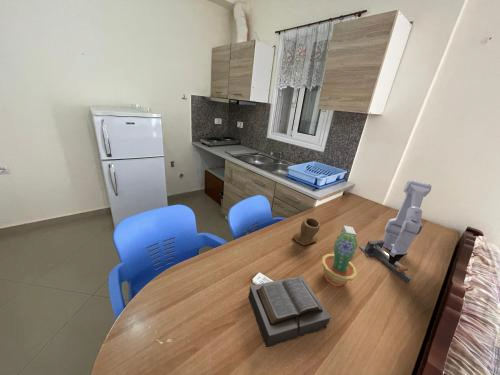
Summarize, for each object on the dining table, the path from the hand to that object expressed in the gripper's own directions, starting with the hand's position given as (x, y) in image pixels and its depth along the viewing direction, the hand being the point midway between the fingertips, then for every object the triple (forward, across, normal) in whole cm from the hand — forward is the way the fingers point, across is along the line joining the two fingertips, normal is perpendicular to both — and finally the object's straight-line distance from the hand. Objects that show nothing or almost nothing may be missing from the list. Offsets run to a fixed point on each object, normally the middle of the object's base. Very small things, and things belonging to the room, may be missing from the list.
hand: (392, 262), depth 106 cm
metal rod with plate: (0, -1, -4) cm, 4 cm away
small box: (+4, +8, -23) cm, 25 cm away
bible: (+4, +69, -4) cm, 69 cm away
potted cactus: (+3, +36, -8) cm, 37 cm away
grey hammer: (+3, -1, -3) cm, 5 cm away
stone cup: (+4, +29, -34) cm, 45 cm away
